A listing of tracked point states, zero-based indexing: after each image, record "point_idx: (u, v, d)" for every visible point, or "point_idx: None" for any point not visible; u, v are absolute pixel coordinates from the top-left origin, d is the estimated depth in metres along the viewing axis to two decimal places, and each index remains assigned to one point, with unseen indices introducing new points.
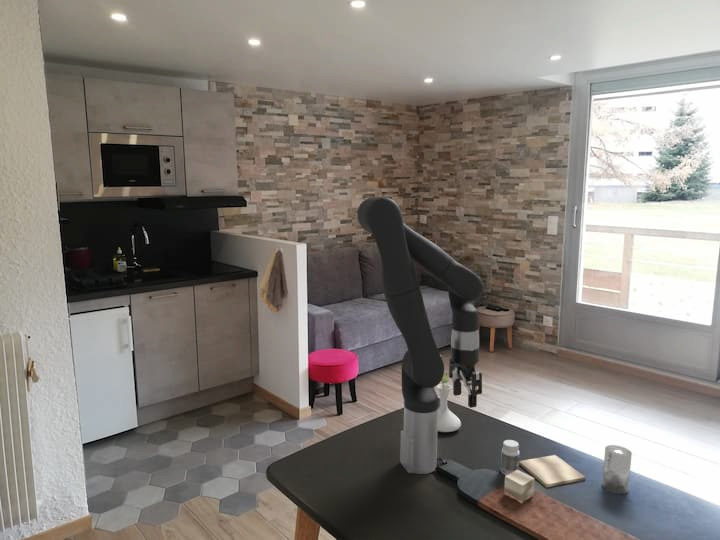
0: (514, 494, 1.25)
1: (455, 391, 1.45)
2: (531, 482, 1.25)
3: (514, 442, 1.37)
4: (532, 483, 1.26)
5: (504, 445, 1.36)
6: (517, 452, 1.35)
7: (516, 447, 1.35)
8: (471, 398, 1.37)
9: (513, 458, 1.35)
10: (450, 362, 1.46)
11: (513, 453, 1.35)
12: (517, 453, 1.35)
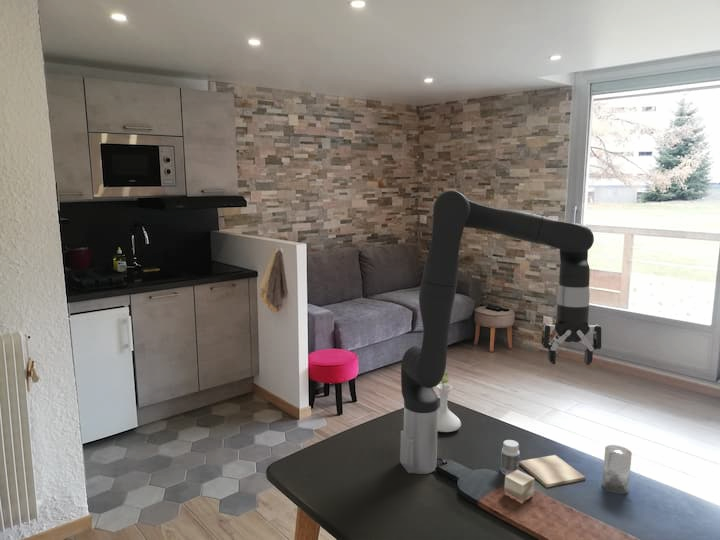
0: (514, 494, 1.25)
1: None
2: (531, 482, 1.25)
3: (514, 442, 1.37)
4: (532, 483, 1.26)
5: (504, 445, 1.36)
6: (517, 452, 1.35)
7: (516, 447, 1.35)
8: (590, 355, 1.30)
9: (513, 458, 1.35)
10: (547, 330, 1.30)
11: (513, 453, 1.35)
12: (517, 453, 1.35)
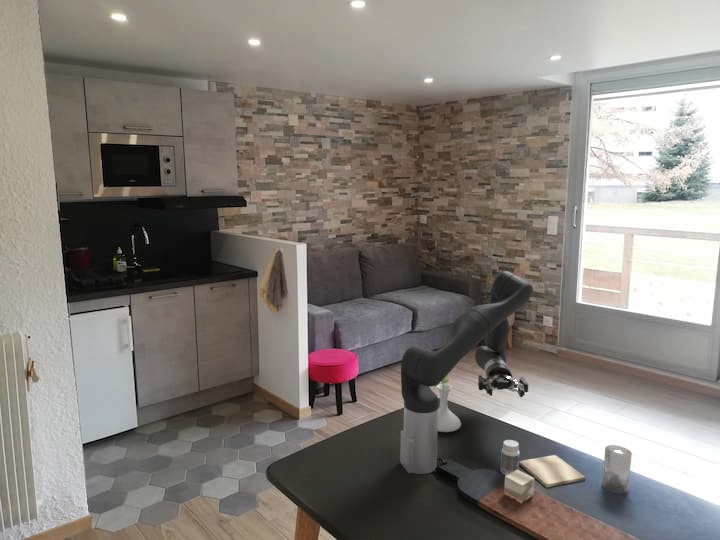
0: (514, 494, 1.25)
1: (519, 394, 1.47)
2: (531, 482, 1.25)
3: (514, 442, 1.37)
4: (532, 483, 1.26)
5: (504, 445, 1.36)
6: (517, 452, 1.35)
7: (516, 447, 1.35)
8: None
9: (513, 458, 1.35)
10: None
11: (513, 453, 1.35)
12: (517, 453, 1.35)
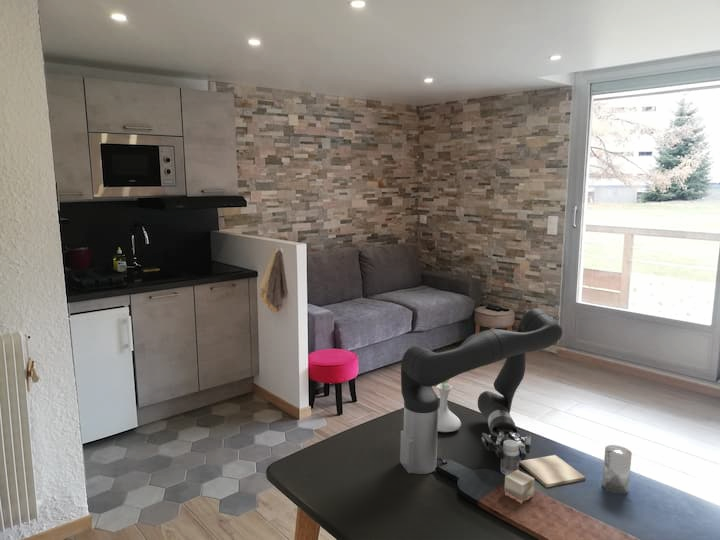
0: (514, 494, 1.25)
1: (520, 457, 1.35)
2: (531, 482, 1.25)
3: (514, 441, 1.37)
4: (532, 483, 1.26)
5: (504, 445, 1.36)
6: (517, 452, 1.35)
7: (516, 447, 1.35)
8: None
9: (513, 458, 1.35)
10: None
11: (513, 453, 1.35)
12: (517, 453, 1.35)
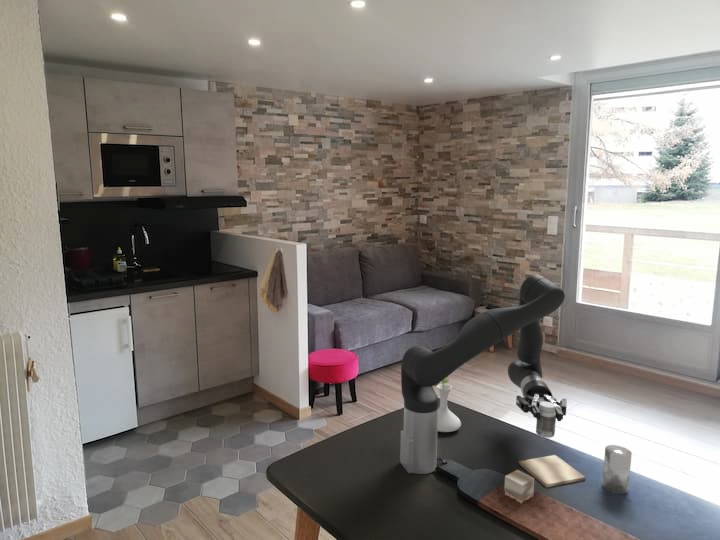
0: (514, 494, 1.25)
1: (557, 418, 1.34)
2: (531, 482, 1.25)
3: (550, 403, 1.36)
4: (532, 483, 1.26)
5: (540, 406, 1.35)
6: (554, 413, 1.34)
7: (553, 408, 1.33)
8: None
9: (549, 419, 1.33)
10: None
11: (550, 414, 1.33)
12: (554, 414, 1.34)
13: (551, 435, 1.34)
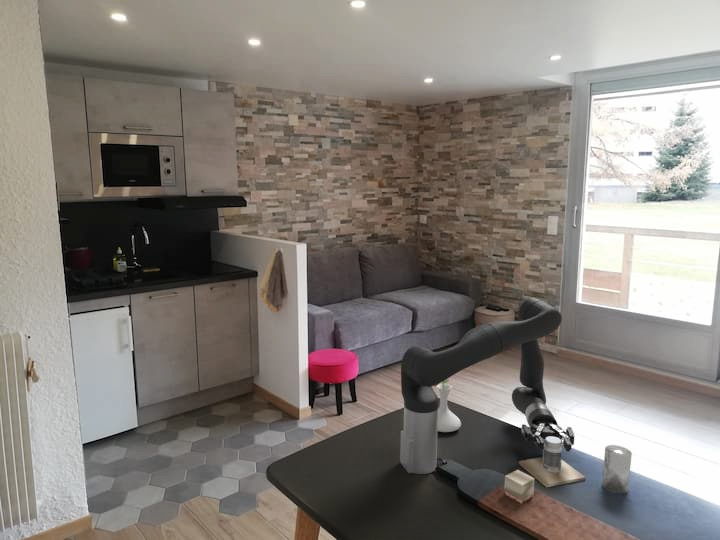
0: (514, 494, 1.25)
1: (565, 448, 1.36)
2: (531, 482, 1.25)
3: (556, 438, 1.37)
4: (532, 483, 1.26)
5: (546, 442, 1.36)
6: (560, 449, 1.36)
7: (559, 444, 1.35)
8: None
9: (555, 454, 1.35)
10: None
11: (556, 450, 1.35)
12: (560, 450, 1.35)
13: (558, 470, 1.36)
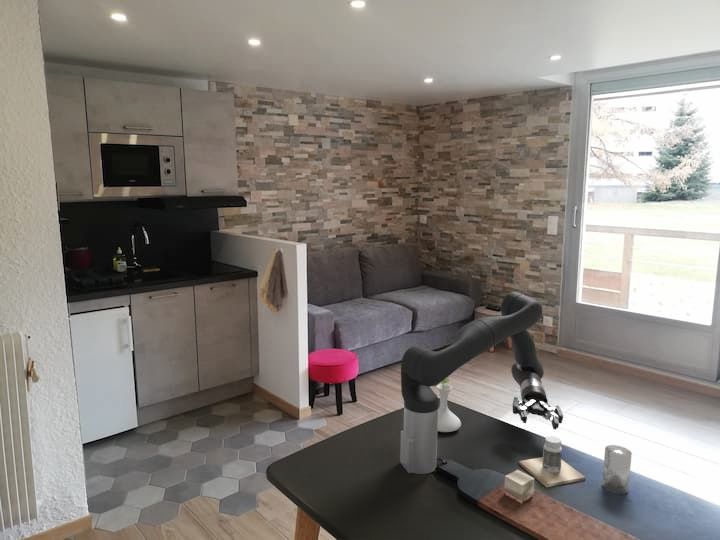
0: (514, 494, 1.25)
1: (553, 426, 1.48)
2: (531, 482, 1.25)
3: (556, 438, 1.38)
4: (532, 483, 1.26)
5: (546, 441, 1.37)
6: (559, 448, 1.36)
7: (559, 443, 1.35)
8: None
9: (555, 454, 1.35)
10: None
11: (556, 449, 1.35)
12: (560, 449, 1.36)
13: (557, 470, 1.36)
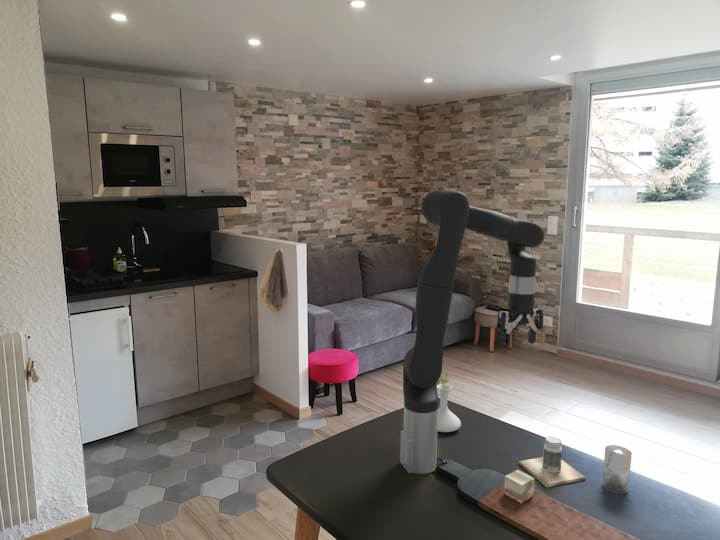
0: (514, 494, 1.25)
1: (528, 338, 1.54)
2: (531, 482, 1.25)
3: (556, 438, 1.37)
4: (532, 483, 1.26)
5: (546, 441, 1.37)
6: (560, 448, 1.36)
7: (559, 443, 1.35)
8: None
9: (555, 454, 1.35)
10: None
11: (556, 449, 1.35)
12: (560, 449, 1.35)
13: (557, 470, 1.36)
